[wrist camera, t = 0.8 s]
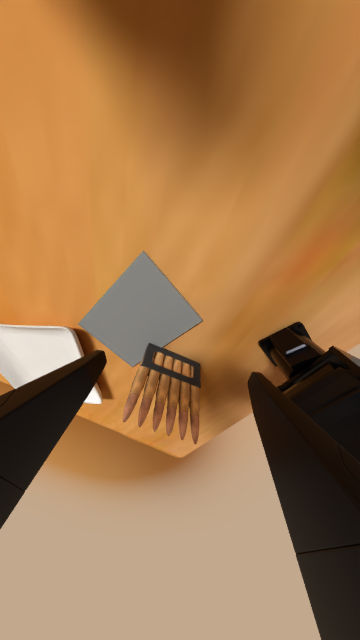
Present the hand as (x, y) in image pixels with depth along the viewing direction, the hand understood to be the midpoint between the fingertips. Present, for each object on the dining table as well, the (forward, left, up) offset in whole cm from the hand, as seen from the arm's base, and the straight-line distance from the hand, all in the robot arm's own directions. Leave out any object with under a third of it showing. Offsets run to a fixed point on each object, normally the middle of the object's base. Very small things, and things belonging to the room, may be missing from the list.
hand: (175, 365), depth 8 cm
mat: (+2, +9, -14) cm, 17 cm away
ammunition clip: (-8, +9, -14) cm, 18 cm away
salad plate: (+7, +32, -14) cm, 36 cm away
